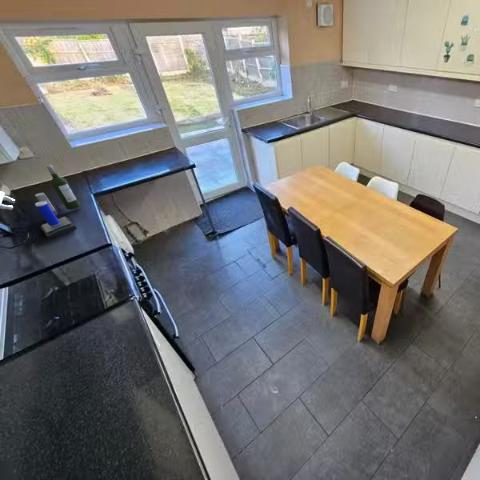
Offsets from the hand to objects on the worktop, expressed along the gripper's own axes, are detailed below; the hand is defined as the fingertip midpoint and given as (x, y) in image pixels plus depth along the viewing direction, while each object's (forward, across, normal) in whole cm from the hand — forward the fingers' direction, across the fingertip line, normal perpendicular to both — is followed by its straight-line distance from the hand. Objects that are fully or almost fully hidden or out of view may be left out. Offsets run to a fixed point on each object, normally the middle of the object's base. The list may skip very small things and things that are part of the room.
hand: (13, 204), depth 152 cm
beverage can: (+20, 0, -6) cm, 20 cm away
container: (+20, -23, -10) cm, 32 cm away
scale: (+22, 0, -8) cm, 24 cm away
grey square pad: (+20, 0, -6) cm, 21 cm away
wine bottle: (+28, -26, -2) cm, 38 cm away
